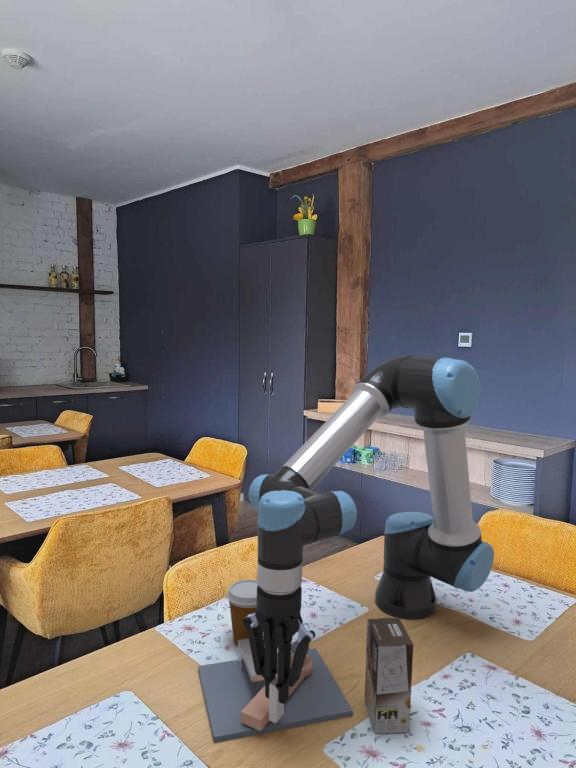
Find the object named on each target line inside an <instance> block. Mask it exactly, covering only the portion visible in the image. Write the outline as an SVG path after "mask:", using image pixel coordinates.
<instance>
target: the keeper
mask: <svg viewBox="0 0 576 768" xmlns="http://www.w3.org/2000/svg"><path fill="white" fill-rule="evenodd" d="M237 647H238V658H237V660H238V663H239V666H240V669H241V672H242V671H248V674H249V677H250V680H251V682H255V681H261V680H264V677H263V676H261V675H259V676H258V675H257V674H256V673H255V669H254V664H253V658H252V653H251V647H250V642H249V638H248V639H241V640H238V646H237Z"/></svg>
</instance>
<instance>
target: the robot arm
mask: <svg viewBox="0 0 576 768" xmlns="http://www.w3.org/2000/svg"><path fill="white" fill-rule="evenodd" d="M481 397H482V386H481V382H480V377H479V375H478V373H477V371H476V369H475V368H474V367H473V365H471V364H469V362H467V361H465V360H463V359H454V358H452V357H447V356H446V357H436V356H435V357H433V356H416V355H401V356H396V357H393V358H390V359H388V360H386V361H384V362H382V363H380V364H378V366H376V367H374V368H373V369H372V370H371V371H369V372H367V374H365V375H364V376H363V377H362V378H361V379H360V380H359V381H357V383H356V384H355V385H354V386H353V387H352V394H351V395H350V396H349V397H348V398H347V399H346V400H345V401H344V403H343V404H341V405H340V406H339V408H337V410H336V411H335V412H334V413H333V414H332V415H331V416H330V417H329V418H328V419H327V420H326V421H325V422H324V423H323V424H322V425H321V426H320V427H319V428H318V429H317V430H316V431H315V432H314V433H313V434H312V435H311V436H310V437H309V439H307V440H306V442H304V444H302V445H301V446H300V448H299V449H297V450H296V452H295V453H293V454H292V456H291V457H290V458H289V459H288V460H287V461H286V462H285V463H284V464H283V465H282V467H281V468H279V469H278V470H277V471H276V472H275V473H274V474H270V473H269V474H268V473H267V474H265V473H264V474H260V475H258V476H257V477H255V478H254V479H253V481H252V482H251V484H250V486H249V490H248V500H249V503H250V505H251V506H252V508H253V509H254V510H256V511H258V512H257V513H258V514H257V519H256V523H257V566H256V567H257V568H256V580H257V584H258V586H257V609H256V611H255V613H253V612H252V613H250V614H249V615H248V616H247V617H246V618H244V619H243V624H244V626H245V628H246V630H247V632H248V637H249V642H250V647H251V653H252V658H253V664H254V669H255V673H256V674H257V675H258V676H259V675H261V676H263V677H264V680H265V696H266V698H269V720H270V721H272V722H275V723H277V722H278V720H279V719H280V718H281V716H282V715H283V714H284V703H285V702H286V700H287V699H288V697H289V687H293V686H294V684H295V683H296V682H297V681H298V679H299V678H300V675H301V671H302V668H303V664H304V661H305V657H306V654H307V650H308V647H309V646H310V643H311V642H312V641H313V640H314V638H315V637H316V633H315V631H314V630H311V629H310V630H308V629H307V628H306V627H305V626H304V620H303V619H302V614H301V610H302V600H303V599H302V593H303V592H302V591H303V587H302V583H303V561H304V560H303V559H304V546H308V545H311V544H313V543H317V542H321V541H323V540H327V539H330V538H334V537H339V536H340V535H341V534H344V533H346V532H349V531H351V530H352V528H354V527H355V524H356V522H357V518H358V515H357V513H358V512H357V511H358V510H357V506H356V503H355V502H354V499H353V498H352V496H351V495H350V494H348V493H347V492H345V491H343V490H336V491H334V490H331V491H328V492H327V493H326V492H321V491H317V490H315V487H317V485H318V484H319V483H321V481H322V480H323V479H324V477H325V476H326V475H327V474H328V473H329V472H330V471H331V470H332V469H333V468H334V467H335V465H337V463H339V461H340V460H342V458H343V456H345V454H347V452H348V451H350V449H351V448H352V447H353V446H355V444H356V442H357V441H358V440H359V439H360V438H361V437H362V436H363V435H364V434H365V433H366V432H367V431H368V429H369V428H370V427H371V426H372V425H373V424H374V423H375V422H376V421H377V419H380V418H381V419H383V418H385V417H387V415H388V414H390V412H391V411H394V410H395V409H401V408H405V409H408V410H409V409H410V410H413V416H414V423H415V424H416V426H418V427H419V428H421V429H422V431H423V440H424V448H425V457H426V465H427V466H426V467H427V475H428V483H429V492H430V502H431V509H432V515H431V514H430V513H425V512H420V511H405V512H404V511H403V512H395V513H394V514H391V515H390V516H388V517H387V519H386V521H385V527H384V528H385V529H384V531H383V534H384V539H383V541H384V542H383V547H384V548H383V570H382V574H381V576H380V579H379V581H378V584H377V587H376V589H375V594H374V596H375V597H374V602H375V604H376V606H377V608H378V609H380V610H381V611H383V612H384V613H386V614H388V615H389V616H392V617H395V618H399V619H400V618H401V619H406V620H408V619H409V620H417V619H419V620H420V619H425V618H428V617H430V616H432V615H433V614H434V613H435V612H436V611H437V595H436V592H435V588H434V586H433V585H434V584H433V581H432V579H431V578H433V579H434V580H435V579H436V580H437V581H440V582H441V583H443V584H446V585H449V586H451V587H453V588H455V589H459V590H462V591H465V592H468V593H470V592H475V591H477V590H479V589H480V588H481V587H482V586H483V585H484V584H485V582H486V581H487V579H488V577H489V575H490V574H491V570H492V569H493V565H494V560H495V550H494V547H493V546H492V545H491V543H488V542H487V541H483V540H482V529H481V527H480V526H479V524H477V523H476V522H475V521H474V520H473V506H472V497H471V496H472V495H471V485H470V475H469V474H470V473H469V462H468V453H467V440H466V439H467V438H466V430H465V427H466V426H467V425H468V424H469V423H470V421H471V419H472V416H473V415H474V414H475V413H476V411H477V410H478V408H479V405H480V401H479V400H480V399H481ZM261 628H262V630H263V635H262V630H261ZM295 634H298V635H297V641H298V642H299V644H298V646H297V648H296V651H295V655H294V658H293V662H292V666H291V652H292V651H291V644H292V643H293V639H294V636H295ZM309 648H310V647H309ZM277 654H278V669H277ZM277 670H278V671H277ZM277 673H278V676H276V674H277Z"/></svg>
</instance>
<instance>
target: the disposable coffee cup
mask: <svg viewBox="0 0 576 768" xmlns="http://www.w3.org/2000/svg"><path fill="white" fill-rule="evenodd" d="M257 586H258V584H257V579H243V580H238V581H236V582H235V581H234V582H233V583H232V584H230V586H229V589H228V591H227V592H226V598H227V599H228V602H229V610H230V618H231V619H230V621H231V627H232V628H231V629H232V636H233V637H232V638H233V643H234V645H236V646H237V647H239V646H238V640H241V639H248V638H249V637H248V632H247V630H246V628H245V626H244V624H243V619H244V618H246V617H247V616H248V615H249V614H250V613H252V612H253V613H255V611H256V609H257ZM261 630H262V628H261ZM262 635H263V636H264V632H263V630H262Z"/></svg>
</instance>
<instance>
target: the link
mask: <svg viewBox="0 0 576 768" xmlns="http://www.w3.org/2000/svg"><path fill="white" fill-rule="evenodd" d="M298 644H299V642H298V641H294V642H293V641H292V642H291V652H293V653H294V654H291V666H292V662H293V658H294V655H295V651H296V648H297V646H298ZM309 649H310V647H308V650H307V652H308V651H309ZM312 668H313V658H311V657H310V656H309V655H307V654H306V657H305V661H304V664H303V668H302V671H301V675H300V678H299V679H298V681H297V682H296V683H295V684H294V686H293V687H289V696H290V695H291V694H292V692H293V691H294V690H295V689H296V688H297V686H298V685H299V684H300V683H301V681H302V680H303V679H304V678H306V677H308V676H310V675H311V673H312ZM276 676H278V673H277V674H276ZM268 722H269V698H266V696H265V686H264V687H263V688H262V689H261V690H260V691H259V693H258V694H257V695H256V696H255V697H254V698H253V699H252V700H251V701H250V702H249V703H248V705H247V706H246V707H245V708H244V709H243V710H242V711H241V723H243V724H245V725H248V726H250V727H252V728H255V729H257V730H259V731H261V730H262V729H263V728H264V727H265V725H266V724H267V723H268Z"/></svg>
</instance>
